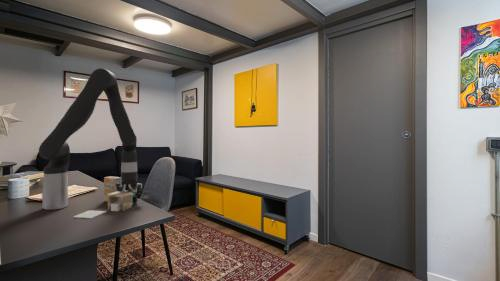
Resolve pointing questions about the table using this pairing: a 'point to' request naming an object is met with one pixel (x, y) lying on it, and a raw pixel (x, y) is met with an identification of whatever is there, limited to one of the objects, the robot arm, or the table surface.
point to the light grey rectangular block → (116, 206)
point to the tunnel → (125, 199)
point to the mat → (89, 214)
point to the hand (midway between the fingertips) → (129, 203)
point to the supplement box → (111, 186)
